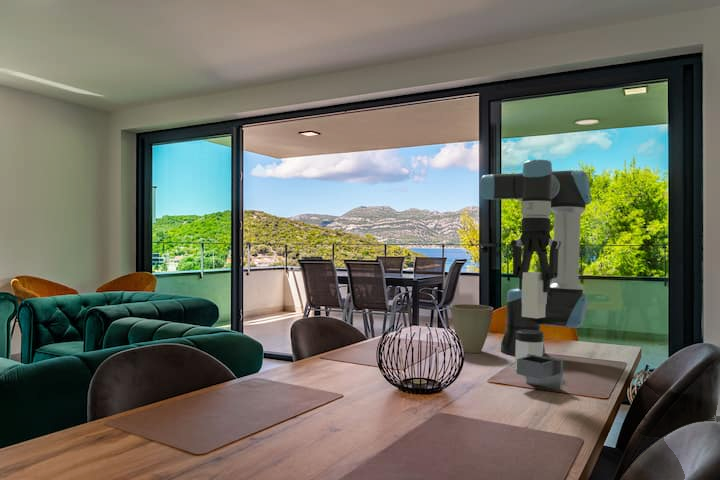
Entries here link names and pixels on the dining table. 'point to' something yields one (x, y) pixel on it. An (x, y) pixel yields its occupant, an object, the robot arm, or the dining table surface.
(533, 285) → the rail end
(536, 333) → the jar
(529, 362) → the cup bracket
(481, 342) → the plant pot
